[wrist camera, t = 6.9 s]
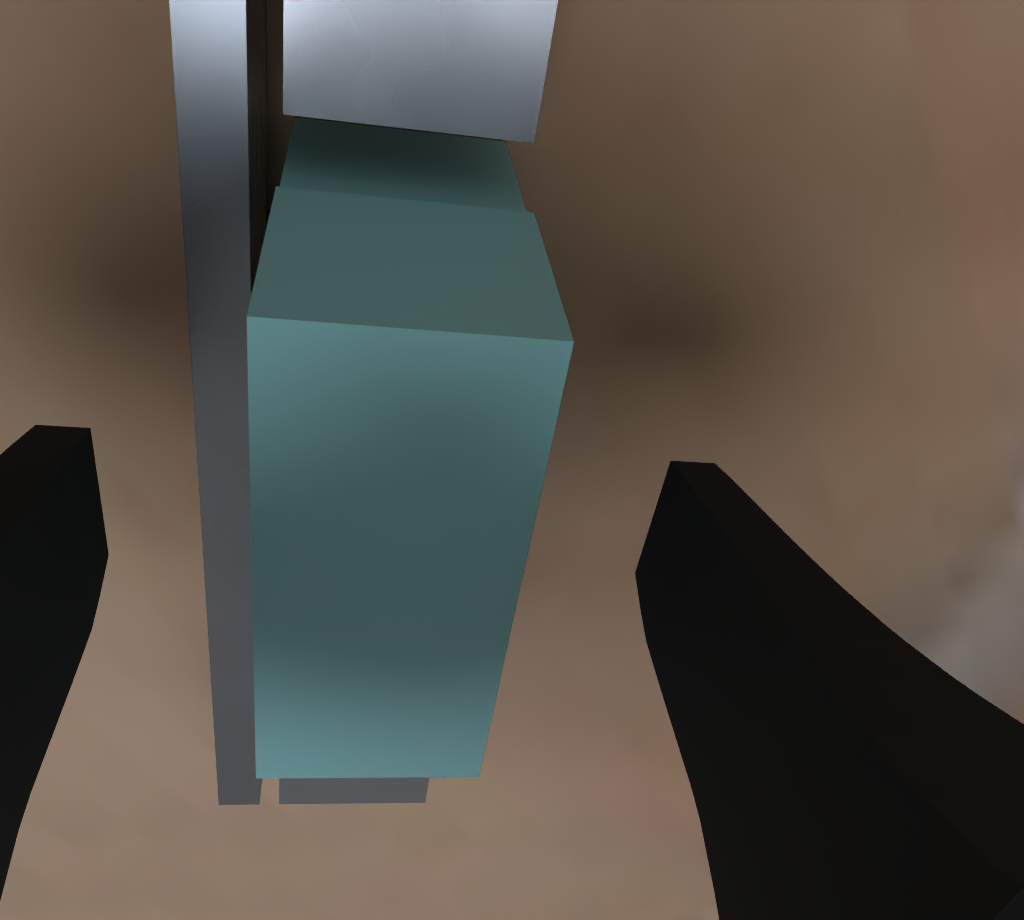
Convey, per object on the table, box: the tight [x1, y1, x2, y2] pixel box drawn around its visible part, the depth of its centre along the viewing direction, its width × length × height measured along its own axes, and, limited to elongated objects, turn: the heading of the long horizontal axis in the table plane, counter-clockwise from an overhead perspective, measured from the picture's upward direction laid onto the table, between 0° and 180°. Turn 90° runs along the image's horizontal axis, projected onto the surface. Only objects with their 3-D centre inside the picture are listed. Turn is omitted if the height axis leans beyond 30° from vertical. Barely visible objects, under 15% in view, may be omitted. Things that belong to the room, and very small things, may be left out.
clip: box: [247, 117, 574, 779], centre depth 13 cm, size 7×3×6 cm, turn 171°
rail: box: [169, 0, 558, 805], centre depth 15 cm, size 20×4×2 cm, turn 171°
